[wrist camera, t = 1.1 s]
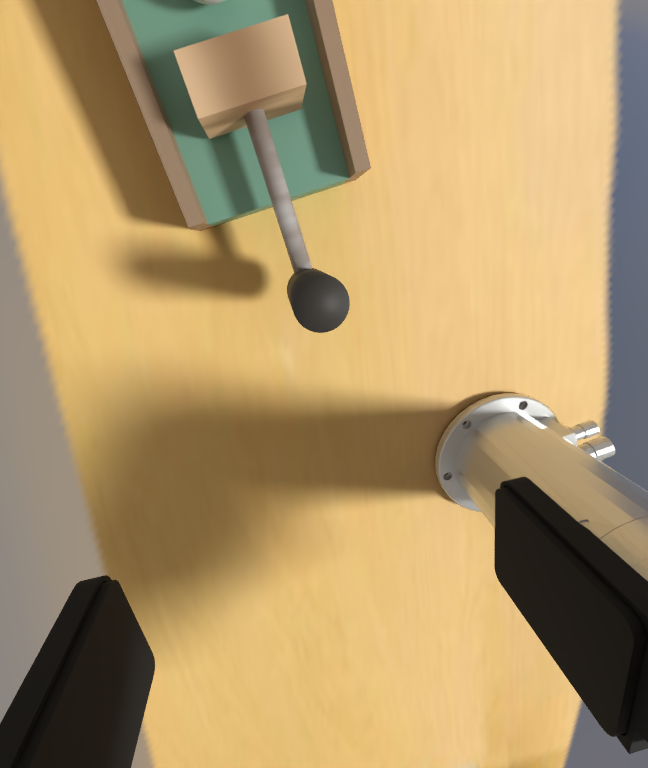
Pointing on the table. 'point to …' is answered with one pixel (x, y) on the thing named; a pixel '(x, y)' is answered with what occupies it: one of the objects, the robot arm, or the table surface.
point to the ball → (209, 2)
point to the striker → (263, 137)
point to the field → (235, 149)
